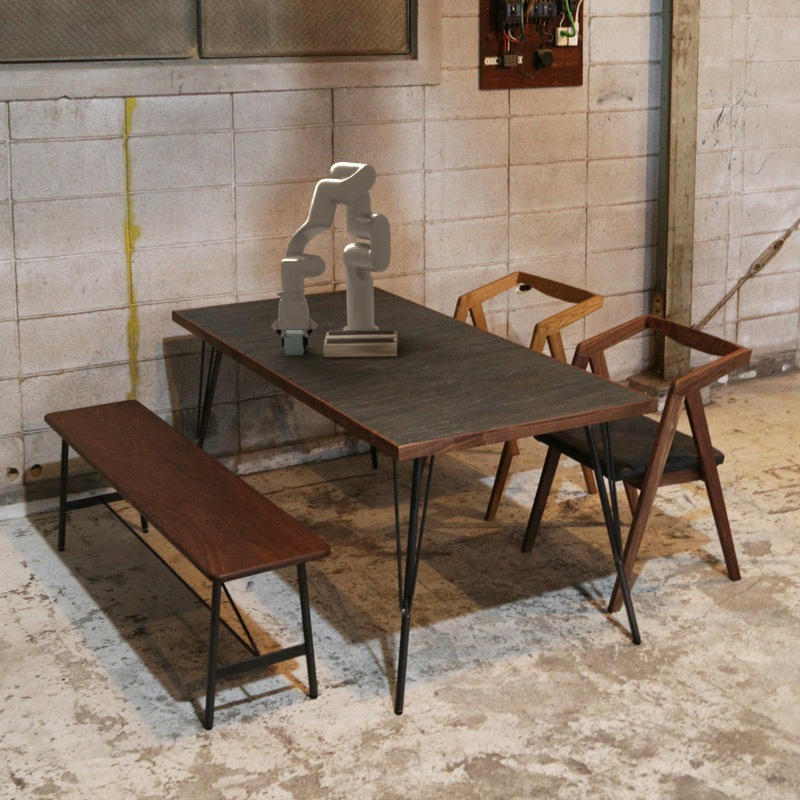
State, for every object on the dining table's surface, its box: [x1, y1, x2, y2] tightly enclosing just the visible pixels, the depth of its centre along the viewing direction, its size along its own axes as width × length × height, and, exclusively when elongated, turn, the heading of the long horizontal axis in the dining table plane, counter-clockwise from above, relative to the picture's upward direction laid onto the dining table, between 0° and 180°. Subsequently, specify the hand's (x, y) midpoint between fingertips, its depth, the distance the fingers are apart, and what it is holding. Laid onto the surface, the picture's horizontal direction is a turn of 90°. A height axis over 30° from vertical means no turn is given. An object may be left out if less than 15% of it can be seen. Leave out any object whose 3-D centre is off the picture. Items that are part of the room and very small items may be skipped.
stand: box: [323, 329, 398, 358], centre depth 431 cm, size 18×24×5 cm
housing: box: [283, 330, 306, 356], centre depth 431 cm, size 12×6×6 cm, turn 0°
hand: (295, 347), depth 432 cm, fingers closed on housing, 6 cm apart
